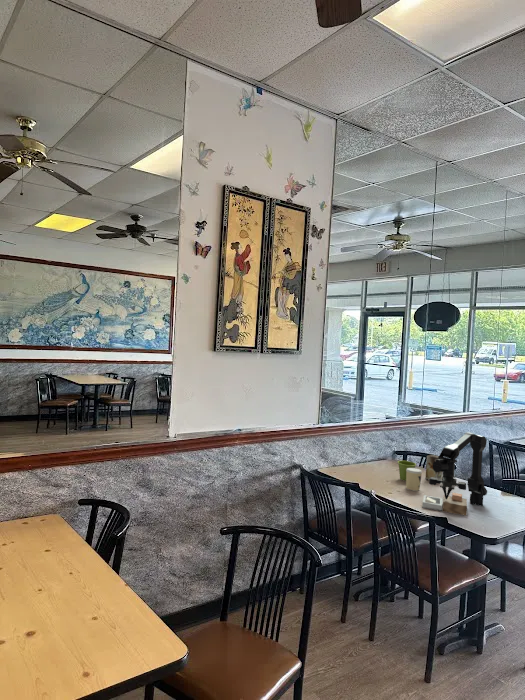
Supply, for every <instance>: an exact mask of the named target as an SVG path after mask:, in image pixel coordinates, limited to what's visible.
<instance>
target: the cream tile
mask: <svg viewBox="0 0 525 700" xmlns="http://www.w3.org/2000/svg"><path fill="white" fill-rule="evenodd" d="M425 502H428V503H434V504H436V501H435V500H433V499H431V498H429V497H427V498H426V500H425Z"/></svg>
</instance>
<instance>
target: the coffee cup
mask: <svg viewBox="0 0 525 700" xmlns="http://www.w3.org/2000/svg"><path fill="white" fill-rule="evenodd" d="M422 473H423V472H422V470H421V469H419V468H407V469H406V481H405V487H406V490H409V491H414V492H418V491H420V487H421V481H422Z"/></svg>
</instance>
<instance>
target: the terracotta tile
mask: <svg viewBox="0 0 525 700" xmlns="http://www.w3.org/2000/svg"><path fill="white" fill-rule="evenodd" d="M451 496H452V500H458V501H462V498H463V494H462V493H459V492H458V493H457V492H452V494H451Z"/></svg>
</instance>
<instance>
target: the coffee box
mask: <svg viewBox="0 0 525 700" xmlns="http://www.w3.org/2000/svg"><path fill="white" fill-rule="evenodd" d="M438 457H439V455H436V454H429V455H426V464H425V467H426V468H425V478H424V479H425V480H427V479H428V481H429V480H430V477H434V478H437V480H442V476H443V472H435V471H434V470H433V467H432V465H433V463H434V462H435V461H436V459H438Z"/></svg>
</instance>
